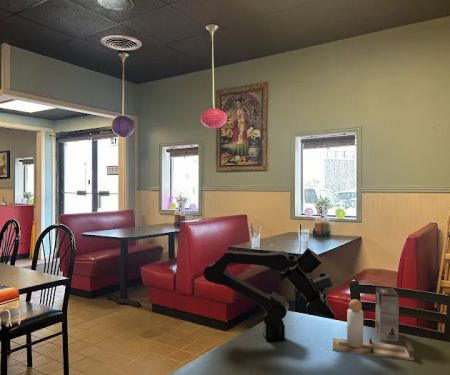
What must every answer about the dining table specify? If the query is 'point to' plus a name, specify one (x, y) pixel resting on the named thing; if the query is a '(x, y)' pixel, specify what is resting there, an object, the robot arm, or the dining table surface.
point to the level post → (355, 324)
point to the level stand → (376, 349)
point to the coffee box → (387, 314)
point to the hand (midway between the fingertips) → (334, 317)
